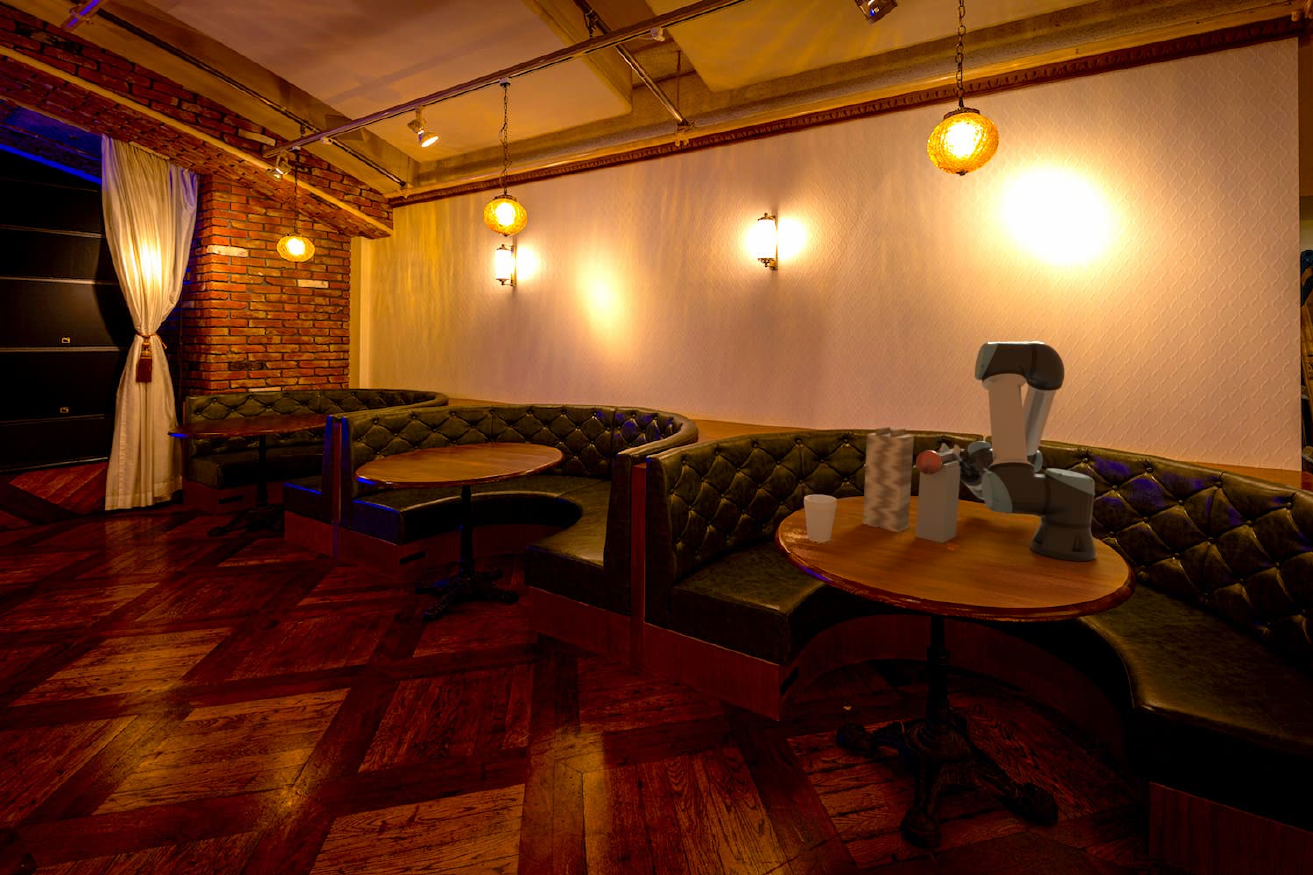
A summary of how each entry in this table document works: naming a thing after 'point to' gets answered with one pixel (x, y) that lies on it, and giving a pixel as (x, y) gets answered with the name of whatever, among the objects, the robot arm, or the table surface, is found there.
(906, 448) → the beige patterned tall block
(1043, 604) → the table surface
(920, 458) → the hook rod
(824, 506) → the foam cup
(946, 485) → the tall grey block
